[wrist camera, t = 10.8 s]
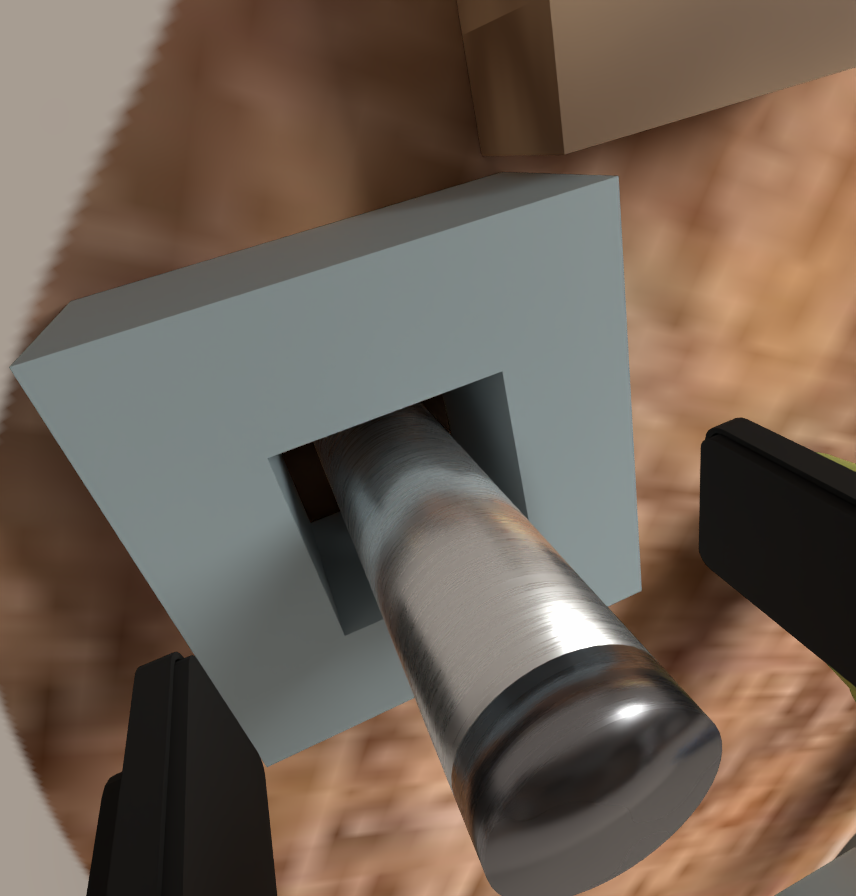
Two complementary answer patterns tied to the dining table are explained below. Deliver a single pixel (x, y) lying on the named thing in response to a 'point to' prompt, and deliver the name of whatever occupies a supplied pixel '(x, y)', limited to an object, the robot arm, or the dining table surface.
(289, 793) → the dining table surface
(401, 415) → the pin
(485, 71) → the mount block
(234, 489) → the dock block
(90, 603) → the dining table surface
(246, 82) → the dining table surface
